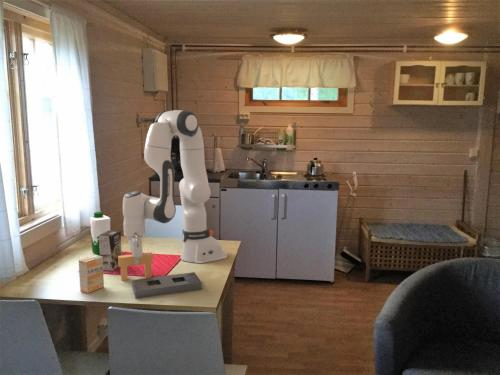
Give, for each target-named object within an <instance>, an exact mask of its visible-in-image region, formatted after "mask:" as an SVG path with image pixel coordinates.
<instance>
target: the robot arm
mask: <svg viewBox="0 0 500 375" xmlns="http://www.w3.org/2000/svg"><path fill="white" fill-rule="evenodd" d="M174 136H178V139H179V153H180V154H179V156H180V167H181V170H182V174H183V178H182V179H181V180H180V181H179V184H178V189H179V193H180V194H179V195H180V202H181V209H182V221H183V222H182V223H183V224H182V227H183V229H182V236H181V237H182V238H181V239H182V250H181V254H180V260H182V261H185V262H188V263H189V262H190V263H195V264H204V263H211V262H215V261H221V260H225V259H227V258H228V253H227V252H226V251H225V250H223V244H222V243H221V242H220V241H219V240H218V239H216V238H214V237H213V235H214V231H213V230H211V229H210V228H208V227H207V211H206V207H205V203H206V202H208V201H209V200H210V197H211V194H212V191H211V188H210V185H209V184H210V183H209V180H208V174H207V169H206V161H205V160H206V159H205V146H204V145H205V144H204V138H203V132H202V129H201V127H200V126H199V120H198V117H197V115H196V113H194V112H193V111H191V110H182V109H174V110H164V111H162V112H160V113H158V114H157V115H156V118H155V120H154V123H153V122H152V123H151V124H150V126H149V129H148V131H147V134H146V138H145V144H144V152H143V157H144V161H145V163H146V164H147V166H148V167H149V168H151V169H152V170H154V171H155V172H156V173H157V175H158V176H159V180H160V181H159V182H160V183H159V184H160V185H159V197H155V196H150V195H147V194H144V193H143V192H142V191H140V190H134V191H133V190H132V191H129V192H127V193H125V194H124V196H123V198H122V216H123V221H122V223H123V224H122V225H123V227H122V228H123V236H124V237H126V238H127V242H128V243H127V244H128V246H129V248H130V251H131V254H133V257H134V263H135V266H137V265H136V264H139V258H141V257H142V256H143V253H144V252H143V240H142V239H143V236H144V235H146V219H147V220H152V221H156V222H158V223H161V224H168V223H169V222H171V221H172V219H174V217H175V215H176V211H177V208H176V202H175V201H176V200H175V167H174V164H173V162H172V157H171V151H172V140H173V138H174Z"/></svg>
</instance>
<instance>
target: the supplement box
mask: <svg viewBox="0 0 500 375" xmlns="http://www.w3.org/2000/svg"><path fill="white" fill-rule="evenodd" d="M78 272H79V290H80V292H81V293H85V294H88V295H89V294H90V293H92V292H95V291H97V290H100V289H103V288H105V281H104V270H103V257H102V256H100V255H99V256H98V255H96V254H93V255H91V256H87V257H84V258H81V259H78Z"/></svg>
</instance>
